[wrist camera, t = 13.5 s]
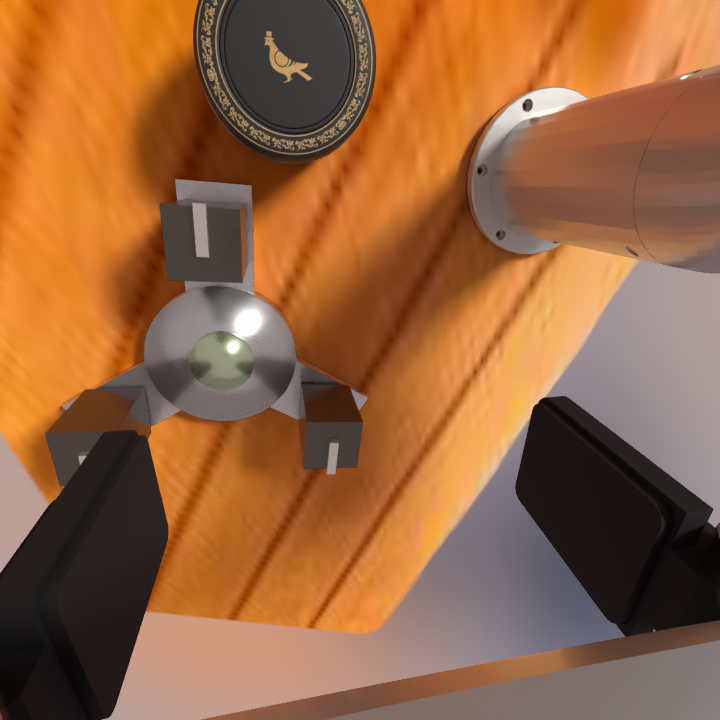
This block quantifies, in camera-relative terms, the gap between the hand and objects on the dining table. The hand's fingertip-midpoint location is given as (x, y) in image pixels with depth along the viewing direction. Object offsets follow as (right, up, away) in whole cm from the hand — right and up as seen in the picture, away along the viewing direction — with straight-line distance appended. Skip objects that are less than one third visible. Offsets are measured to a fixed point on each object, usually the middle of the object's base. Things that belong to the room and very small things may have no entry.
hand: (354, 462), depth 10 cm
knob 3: (-3, -2, +28) cm, 28 cm away
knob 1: (-20, -2, +24) cm, 32 cm away
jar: (-5, +22, +19) cm, 29 cm away
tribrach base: (-11, +5, +24) cm, 27 cm away
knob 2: (-11, +12, +20) cm, 26 cm away
